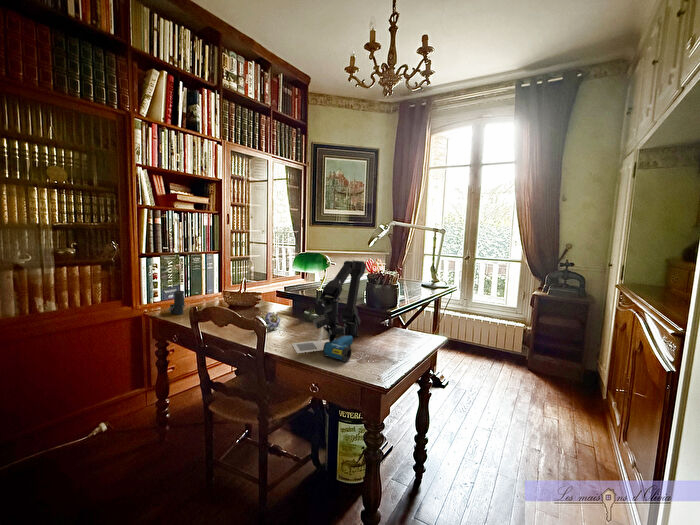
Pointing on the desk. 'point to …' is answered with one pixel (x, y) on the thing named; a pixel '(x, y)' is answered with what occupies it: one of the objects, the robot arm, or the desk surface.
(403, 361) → the desk surface
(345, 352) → the infrared thermometer
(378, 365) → the desk surface
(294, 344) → the label panel
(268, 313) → the passion flower
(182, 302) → the scope
